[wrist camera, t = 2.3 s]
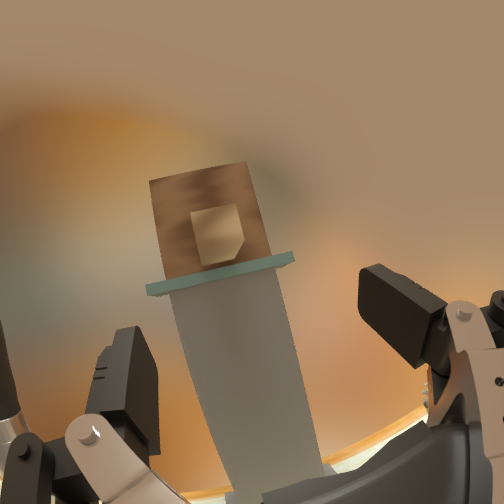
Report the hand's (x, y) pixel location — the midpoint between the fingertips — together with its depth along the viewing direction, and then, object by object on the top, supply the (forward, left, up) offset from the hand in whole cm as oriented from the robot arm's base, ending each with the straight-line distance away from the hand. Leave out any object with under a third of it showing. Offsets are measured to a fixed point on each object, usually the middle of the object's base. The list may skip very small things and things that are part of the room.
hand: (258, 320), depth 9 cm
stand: (-7, +17, -26) cm, 32 cm away
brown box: (-5, +13, +4) cm, 15 cm away
